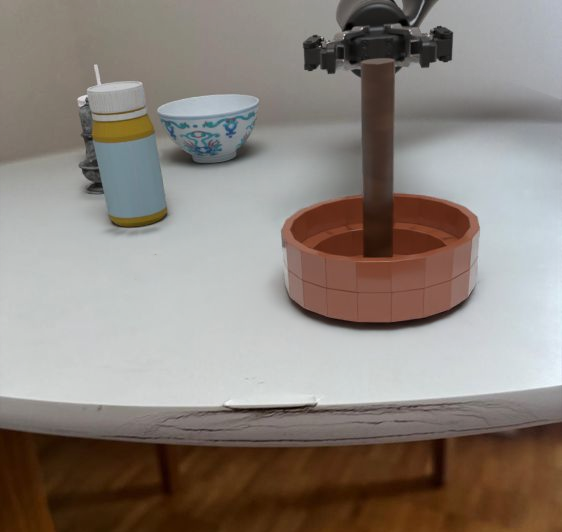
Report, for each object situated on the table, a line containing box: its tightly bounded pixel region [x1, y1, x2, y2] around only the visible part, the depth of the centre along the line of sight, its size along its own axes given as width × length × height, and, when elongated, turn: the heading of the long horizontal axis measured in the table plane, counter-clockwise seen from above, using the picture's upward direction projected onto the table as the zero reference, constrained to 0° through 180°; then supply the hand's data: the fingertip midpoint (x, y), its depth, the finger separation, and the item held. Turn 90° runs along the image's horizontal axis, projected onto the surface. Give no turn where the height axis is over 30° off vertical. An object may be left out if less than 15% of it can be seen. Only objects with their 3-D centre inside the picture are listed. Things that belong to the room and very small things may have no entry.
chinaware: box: [156, 93, 260, 164], centre depth 104 cm, size 15×15×8 cm
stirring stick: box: [360, 58, 396, 258], centre depth 57 cm, size 5×5×18 cm
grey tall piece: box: [78, 97, 104, 195], centre depth 93 cm, size 6×6×12 cm
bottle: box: [86, 80, 168, 228], centre depth 80 cm, size 7×7×15 cm
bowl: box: [280, 192, 481, 323], centre depth 61 cm, size 17×17×6 cm
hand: (377, 58), depth 63 cm, fingers open, 8 cm apart
